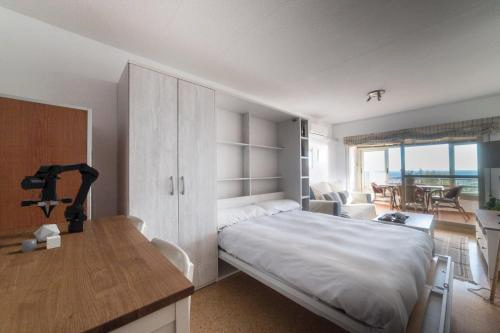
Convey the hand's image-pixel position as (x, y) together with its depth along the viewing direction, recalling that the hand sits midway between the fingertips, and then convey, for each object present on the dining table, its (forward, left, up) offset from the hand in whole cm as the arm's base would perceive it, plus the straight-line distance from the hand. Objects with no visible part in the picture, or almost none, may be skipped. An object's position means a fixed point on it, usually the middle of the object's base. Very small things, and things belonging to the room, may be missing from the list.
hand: (48, 218), depth 105 cm
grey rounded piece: (+4, +14, -12) cm, 19 cm away
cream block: (-4, +14, -12) cm, 19 cm away
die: (0, 0, -12) cm, 12 cm away
